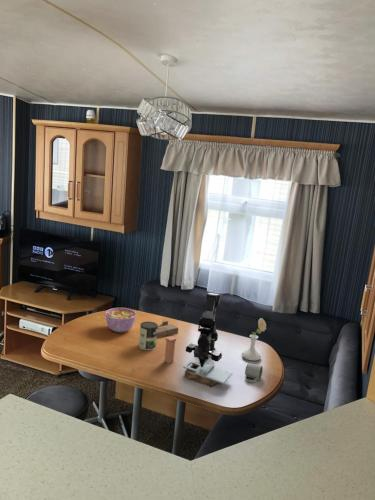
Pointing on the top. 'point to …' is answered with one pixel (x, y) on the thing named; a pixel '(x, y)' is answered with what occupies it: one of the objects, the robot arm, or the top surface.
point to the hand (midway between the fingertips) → (202, 366)
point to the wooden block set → (166, 329)
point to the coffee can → (148, 335)
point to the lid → (209, 372)
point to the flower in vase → (252, 352)
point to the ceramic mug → (253, 372)
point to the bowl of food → (120, 319)
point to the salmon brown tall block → (169, 349)
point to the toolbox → (198, 377)
